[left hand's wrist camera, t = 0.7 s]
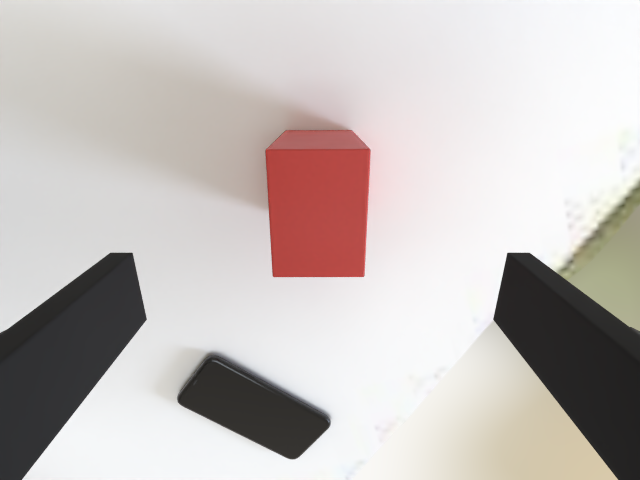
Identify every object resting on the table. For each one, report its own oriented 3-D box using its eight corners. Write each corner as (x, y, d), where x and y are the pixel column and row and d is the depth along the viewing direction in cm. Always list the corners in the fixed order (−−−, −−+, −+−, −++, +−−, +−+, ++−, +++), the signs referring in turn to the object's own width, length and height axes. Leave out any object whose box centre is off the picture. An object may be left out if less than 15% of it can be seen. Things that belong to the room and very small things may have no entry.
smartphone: (334, 417, 41) (211, 349, 37) (335, 423, 40) (208, 355, 36) (294, 456, 43) (175, 396, 39) (294, 463, 42) (172, 403, 38)
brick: (349, 217, 32) (364, 277, 21) (288, 217, 32) (272, 277, 21) (352, 130, 29) (370, 148, 18) (285, 130, 29) (265, 149, 18)
